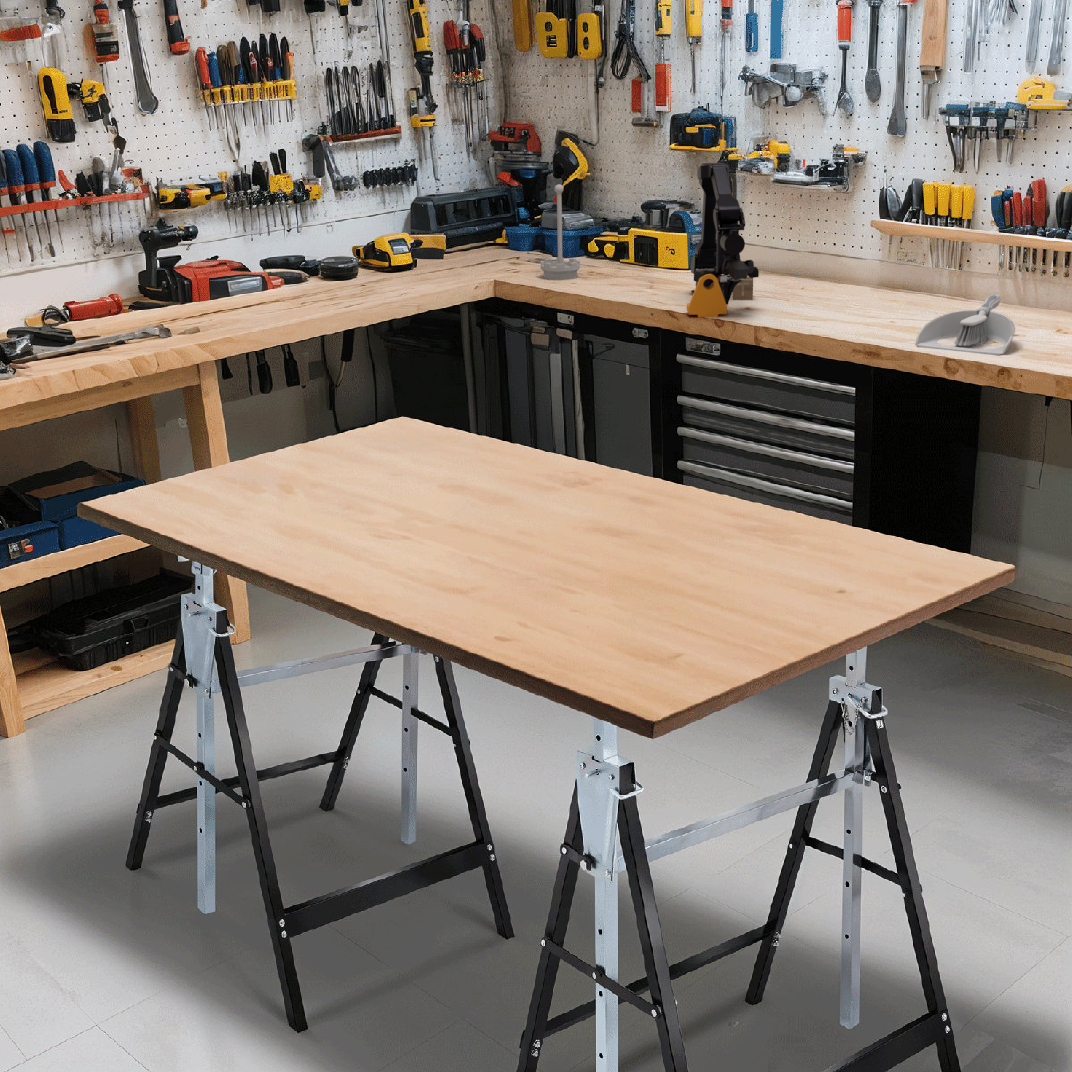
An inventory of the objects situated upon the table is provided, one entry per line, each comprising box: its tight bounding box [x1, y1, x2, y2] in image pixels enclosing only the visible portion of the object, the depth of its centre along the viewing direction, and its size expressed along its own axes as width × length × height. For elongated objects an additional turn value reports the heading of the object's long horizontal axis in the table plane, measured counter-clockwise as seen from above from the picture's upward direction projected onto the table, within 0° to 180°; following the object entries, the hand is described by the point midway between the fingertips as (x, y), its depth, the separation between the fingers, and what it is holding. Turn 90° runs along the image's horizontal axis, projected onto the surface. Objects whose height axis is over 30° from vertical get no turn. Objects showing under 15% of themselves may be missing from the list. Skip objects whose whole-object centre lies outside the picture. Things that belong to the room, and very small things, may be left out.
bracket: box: [686, 274, 728, 318], centre depth 387 cm, size 11×7×12 cm, turn 90°
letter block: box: [731, 276, 754, 301], centre depth 410 cm, size 6×6×6 cm
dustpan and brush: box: [915, 294, 1016, 356], centre depth 351 cm, size 23×33×10 cm
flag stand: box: [540, 183, 581, 281], centre depth 447 cm, size 13×13×30 cm
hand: (725, 304), depth 391 cm, fingers closed
